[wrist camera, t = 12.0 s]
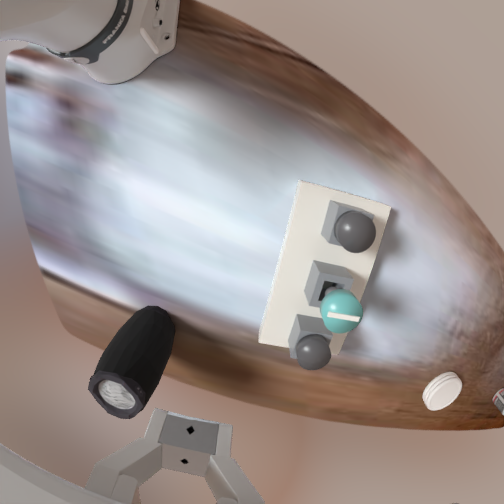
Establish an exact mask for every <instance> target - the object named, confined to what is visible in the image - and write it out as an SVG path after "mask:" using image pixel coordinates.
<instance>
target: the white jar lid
mask: <svg viewBox="0 0 504 504" xmlns="http://www.w3.org/2000/svg"><path fill="white" fill-rule="evenodd" d="M461 389H462V382H461V380H460V379H459V377H458V376H457V374H456V373H454V372H445V373H442V374H440V375H439V376H437V377H436V378H434V379H433V380H432V381H431V382H430V383H429V384H428V385H427V386H426V388H425V390H424V392H423V401H424V402H425V404H426V406H427V408H428V409H430V410H440V409H442V408H444V407H446V406H448V405H449V404H451V403H452V402H453V401H454V400H455V399H456V398H457V396H458V395H459V393H460V391H461Z"/></svg>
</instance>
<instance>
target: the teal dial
mask: <svg viewBox="0 0 504 504" xmlns="http://www.w3.org/2000/svg"><path fill="white" fill-rule="evenodd" d="M320 313H321V316H322V319H323V321H324V324H325V326H326V328H327V329H328V330H330V331H331V332H334V333H339V334H340V333H346V332H349V331H351V330H353V329H354V328H355V327H356V326H357V325H358V324H359V323H360V321H361V319H362V316H363V309H362V306H361V304H360V303H359V301H358V300H357V298H356V297H355V295H354V294H353V293H352V292H351V291H349V290H346V289H337V288H336V287H329V288H327V289H326V291H325V297H324V298H323V300H322V302H321V304H320Z"/></svg>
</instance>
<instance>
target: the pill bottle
mask: <svg viewBox="0 0 504 504" xmlns="http://www.w3.org/2000/svg"><path fill="white" fill-rule="evenodd" d="M493 402H494V404H495V405H496V406H497V408H498V409H499V410H500V412H501V413H502V414H503V415H504V388H502V389H500V390H499V391H498V392H497V393H496V394H495V395H494V397H493Z"/></svg>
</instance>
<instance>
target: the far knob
mask: <svg viewBox="0 0 504 504" xmlns="http://www.w3.org/2000/svg"><path fill="white" fill-rule="evenodd" d="M296 354H297V360H298V363H299V365H300V366H301V367H302V368H304V369H307V370H317V369H320V368H322V367H324V366H325V365H326V364H327V363H328V362H329V361H330V358H331V351H330V348H329V345H328V342H327V340H326V339H325V338H324V337H323V336H321V335H319V334H309V335H306V336H304V337H303V338H301V339H300V340H299V341H298V343H297V345H296Z"/></svg>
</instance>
